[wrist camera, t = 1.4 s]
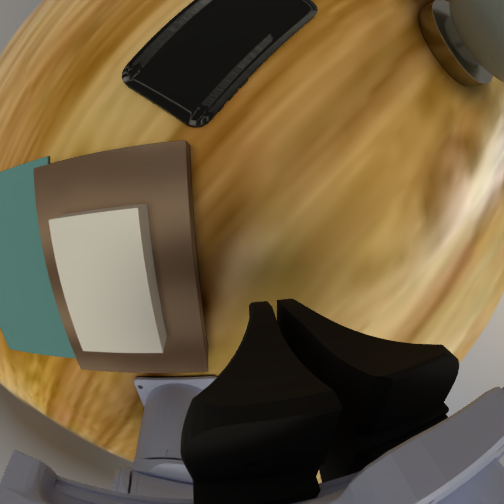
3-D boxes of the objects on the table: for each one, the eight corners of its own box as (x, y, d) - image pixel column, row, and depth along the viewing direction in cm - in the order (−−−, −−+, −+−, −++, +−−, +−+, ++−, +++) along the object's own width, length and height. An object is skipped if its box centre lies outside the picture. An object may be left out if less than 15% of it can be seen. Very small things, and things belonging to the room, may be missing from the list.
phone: (115, 78, 14) (247, -36, 12) (120, 82, 15) (245, -29, 13) (200, 133, 16) (323, 9, 14) (200, 135, 17) (319, 15, 15)
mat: (91, 357, 21) (90, 359, 20) (11, 347, 19) (9, 349, 19) (49, 156, 15) (47, 156, 15) (-29, 185, 14) (-31, 185, 14)
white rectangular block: (166, 335, 17) (162, 352, 16) (92, 335, 17) (82, 350, 15) (146, 203, 15) (137, 207, 13) (64, 214, 14) (48, 219, 12)
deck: (208, 348, 22) (208, 371, 19) (92, 349, 20) (81, 369, 17) (190, 145, 17) (185, 140, 14) (54, 167, 16) (33, 168, 13)
